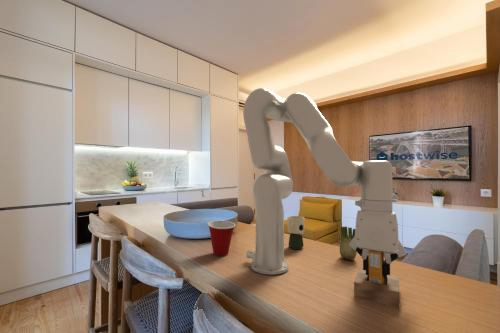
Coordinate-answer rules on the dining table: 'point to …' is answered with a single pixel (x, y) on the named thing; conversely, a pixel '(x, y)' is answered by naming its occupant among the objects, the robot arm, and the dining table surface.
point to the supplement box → (376, 266)
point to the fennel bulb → (347, 243)
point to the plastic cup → (221, 236)
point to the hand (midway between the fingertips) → (376, 274)
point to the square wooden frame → (377, 289)
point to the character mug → (296, 231)
